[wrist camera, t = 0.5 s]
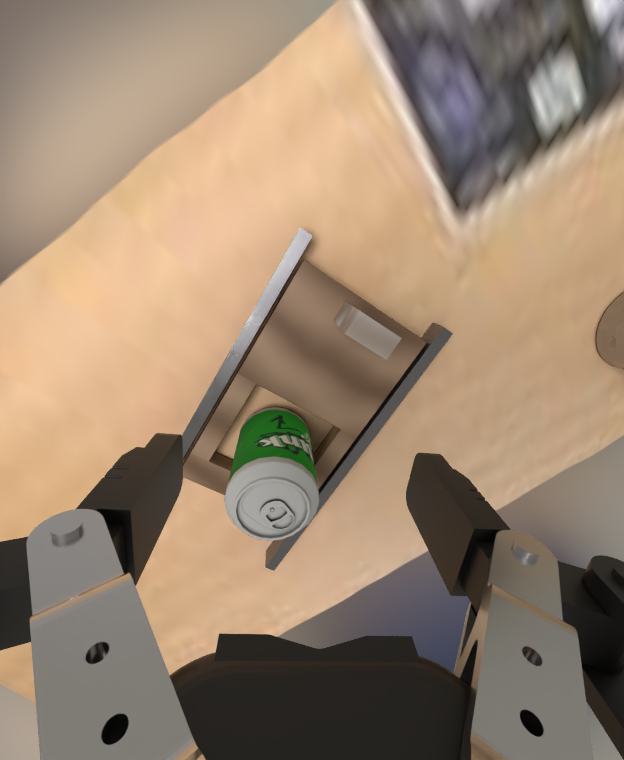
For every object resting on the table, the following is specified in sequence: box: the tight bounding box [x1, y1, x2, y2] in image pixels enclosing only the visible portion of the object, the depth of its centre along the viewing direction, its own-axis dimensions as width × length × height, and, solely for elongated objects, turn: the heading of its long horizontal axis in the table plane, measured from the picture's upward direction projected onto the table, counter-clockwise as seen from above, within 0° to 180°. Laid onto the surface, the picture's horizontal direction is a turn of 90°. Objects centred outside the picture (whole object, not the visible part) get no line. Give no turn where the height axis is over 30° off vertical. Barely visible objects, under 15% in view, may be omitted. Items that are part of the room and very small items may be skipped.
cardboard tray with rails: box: [183, 260, 427, 495], centre depth 31 cm, size 25×14×8 cm, turn 148°
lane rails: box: [182, 227, 453, 570], centre depth 35 cm, size 34×17×2 cm, turn 148°
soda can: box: [224, 407, 319, 541], centre depth 31 cm, size 8×8×12 cm
